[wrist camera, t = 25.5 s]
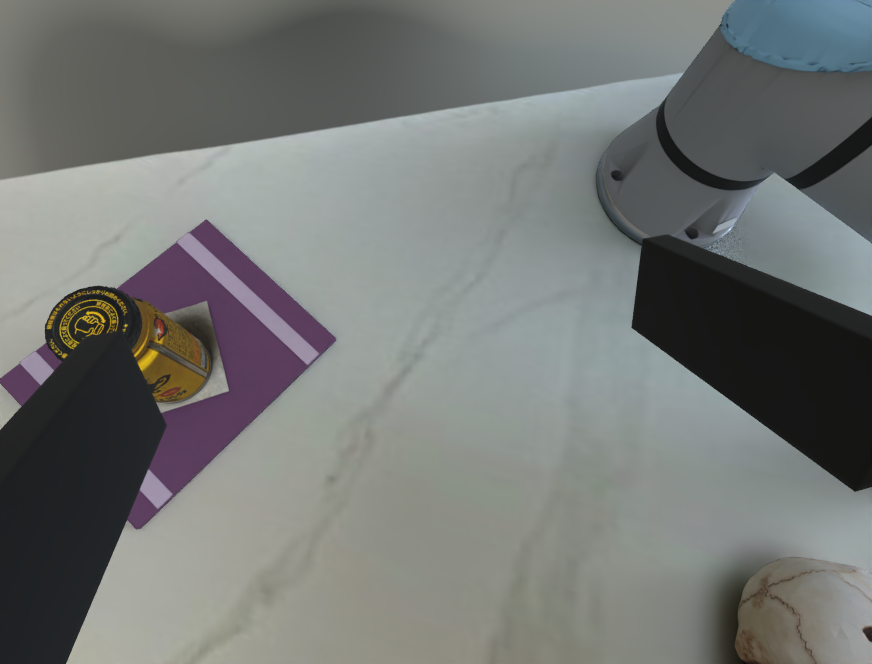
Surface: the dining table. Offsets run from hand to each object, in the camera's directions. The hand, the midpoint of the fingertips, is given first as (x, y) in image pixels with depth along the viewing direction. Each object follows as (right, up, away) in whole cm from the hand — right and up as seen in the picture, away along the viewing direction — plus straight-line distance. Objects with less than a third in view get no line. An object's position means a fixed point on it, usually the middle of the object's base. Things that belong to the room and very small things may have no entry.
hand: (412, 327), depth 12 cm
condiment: (-22, -2, +28) cm, 35 cm away
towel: (-22, -2, +28) cm, 36 cm away
